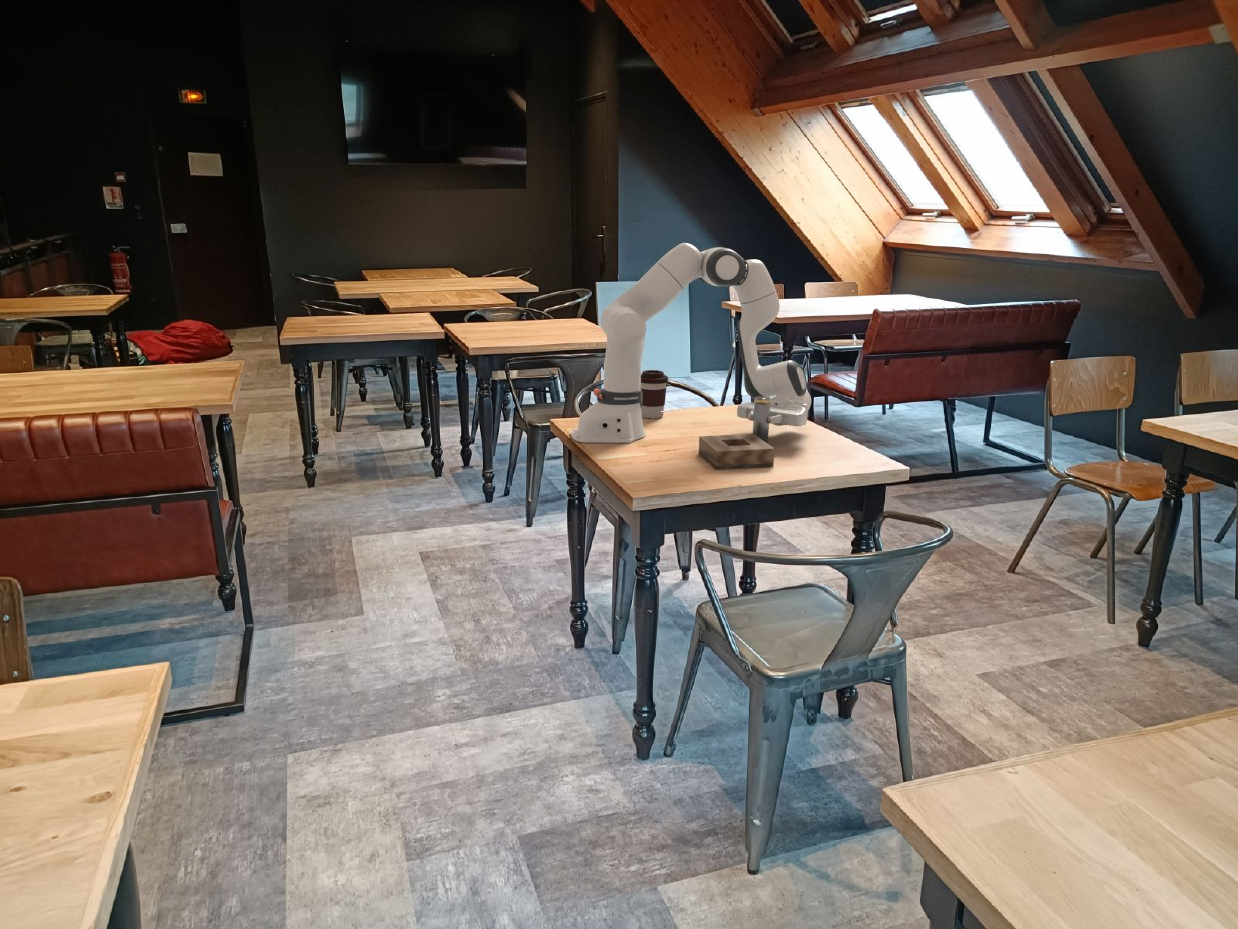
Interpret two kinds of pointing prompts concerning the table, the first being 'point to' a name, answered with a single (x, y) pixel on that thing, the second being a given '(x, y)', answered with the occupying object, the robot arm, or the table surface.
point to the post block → (736, 451)
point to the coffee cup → (653, 393)
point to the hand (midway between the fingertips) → (760, 419)
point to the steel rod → (761, 417)
